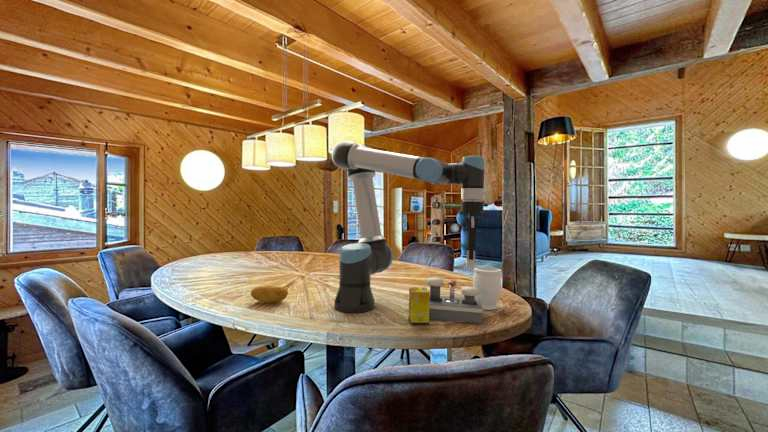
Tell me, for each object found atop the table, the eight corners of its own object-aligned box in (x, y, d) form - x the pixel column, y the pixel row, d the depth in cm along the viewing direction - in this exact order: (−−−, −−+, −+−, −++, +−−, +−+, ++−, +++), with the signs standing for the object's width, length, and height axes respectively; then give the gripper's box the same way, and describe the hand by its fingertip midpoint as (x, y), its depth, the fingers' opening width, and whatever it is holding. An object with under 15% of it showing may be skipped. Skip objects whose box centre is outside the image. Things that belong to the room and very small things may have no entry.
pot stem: (445, 316, 116) (446, 281, 116) (445, 312, 120) (446, 279, 120) (457, 317, 115) (458, 282, 115) (457, 313, 119) (458, 280, 119)
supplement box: (408, 318, 113) (408, 287, 112) (425, 318, 113) (426, 287, 113) (411, 325, 107) (411, 291, 106) (429, 325, 107) (430, 291, 107)
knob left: (426, 299, 116) (427, 280, 116) (427, 295, 122) (428, 276, 122) (442, 301, 115) (443, 281, 115) (443, 296, 121) (443, 277, 121)
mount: (421, 318, 114) (422, 303, 113) (424, 307, 126) (425, 294, 125) (482, 323, 109) (482, 308, 109) (479, 312, 121) (479, 298, 121)
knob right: (461, 309, 114) (461, 289, 114) (460, 305, 120) (461, 285, 119) (478, 311, 113) (478, 290, 113) (476, 306, 118) (477, 287, 118)
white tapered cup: (502, 312, 121) (503, 272, 121) (473, 310, 124) (474, 270, 123) (498, 304, 132) (499, 266, 131) (471, 302, 134) (472, 265, 133)
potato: (283, 306, 123) (283, 288, 123) (247, 305, 124) (247, 287, 124) (290, 300, 131) (290, 283, 131) (256, 299, 132) (257, 282, 132)
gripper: (485, 200, 108) (483, 272, 109) (481, 201, 121) (480, 265, 121) (461, 200, 109) (459, 271, 110) (460, 201, 122) (459, 264, 123)
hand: (470, 268), depth 116 cm, fingers closed
